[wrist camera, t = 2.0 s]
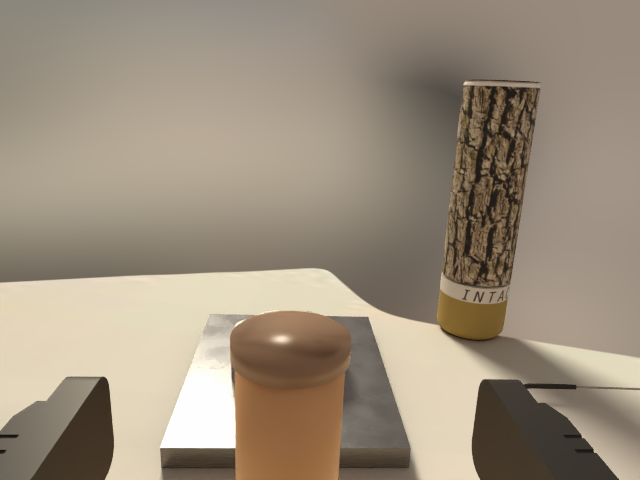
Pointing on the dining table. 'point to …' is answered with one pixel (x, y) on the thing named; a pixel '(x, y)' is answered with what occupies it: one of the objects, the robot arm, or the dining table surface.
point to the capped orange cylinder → (289, 395)
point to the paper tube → (486, 204)
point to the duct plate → (219, 404)
